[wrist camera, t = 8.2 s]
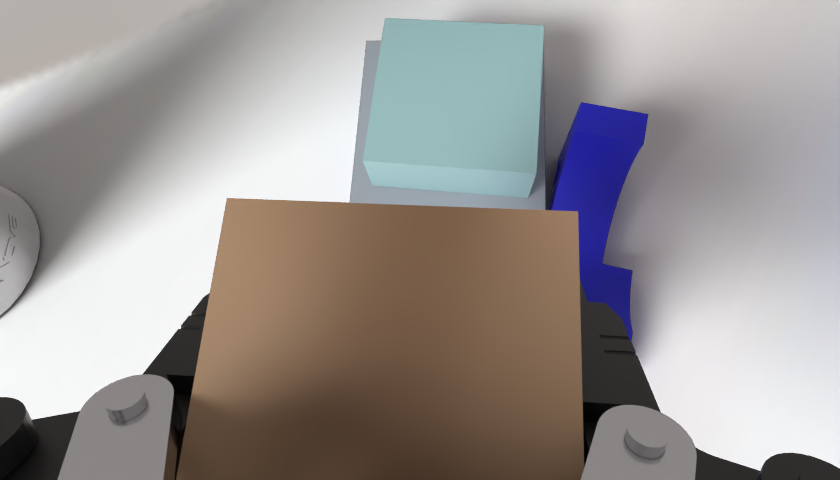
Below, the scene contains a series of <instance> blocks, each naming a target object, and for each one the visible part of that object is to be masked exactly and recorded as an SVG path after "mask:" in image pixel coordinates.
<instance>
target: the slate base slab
mask: <svg viewBox="0 0 840 480" xmlns="http://www.w3.org/2000/svg"><path fill="white" fill-rule="evenodd" d="M380 47H381V41H366V50H365V59H364V69H363V79H362V88H361V98H360V107H359V117H358V127H357V136H356V146H355V155H354V165H353V174H352V184H351V194H350V203H369V204H395V205H422V206H448V207H475V208H502V209H528V210H546V209H545V122H544V41H543V59H542V78H541V97H540V116H539V135H538V154H537V173H536V176H535V179H534V182H533V185H532V188H531V190H530V193H529V196H528V198H520V197H507V196H495V195H482V194H469V193H457V192H444V191H431V190H419V189H406V188H393V187H380V186H372V183H371V181H370V178H369V176H368V173H367V170H366V168H365V165H364V163H363V155H364V149H365V143H366V136H367V130H368V124H369V117H370V111H371V104H372V98H373V92H374V85H375V79H376V73H377V66H378V60H379V53H380Z"/></svg>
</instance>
